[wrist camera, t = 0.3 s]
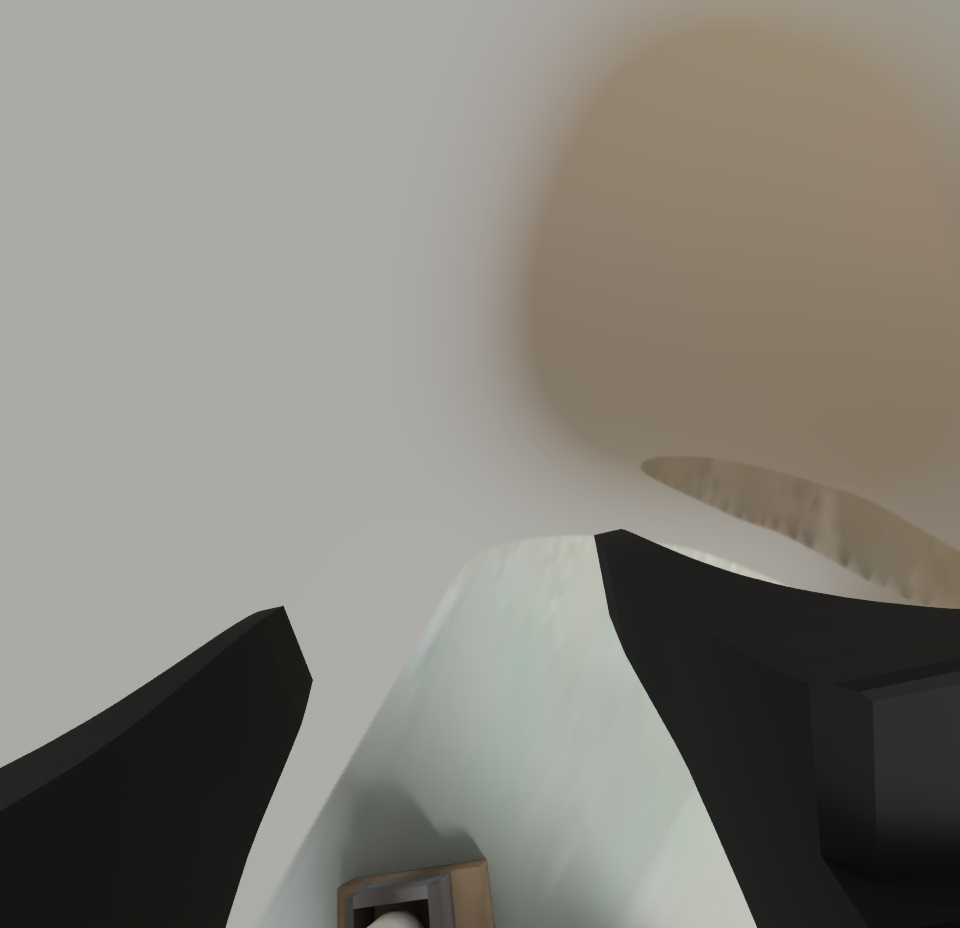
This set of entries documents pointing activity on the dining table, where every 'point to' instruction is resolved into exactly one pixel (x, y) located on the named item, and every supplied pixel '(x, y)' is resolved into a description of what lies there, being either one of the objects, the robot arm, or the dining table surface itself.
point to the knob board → (421, 897)
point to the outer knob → (397, 920)
